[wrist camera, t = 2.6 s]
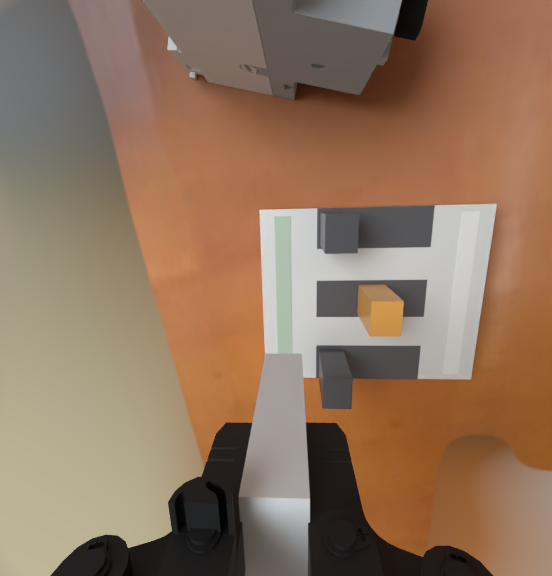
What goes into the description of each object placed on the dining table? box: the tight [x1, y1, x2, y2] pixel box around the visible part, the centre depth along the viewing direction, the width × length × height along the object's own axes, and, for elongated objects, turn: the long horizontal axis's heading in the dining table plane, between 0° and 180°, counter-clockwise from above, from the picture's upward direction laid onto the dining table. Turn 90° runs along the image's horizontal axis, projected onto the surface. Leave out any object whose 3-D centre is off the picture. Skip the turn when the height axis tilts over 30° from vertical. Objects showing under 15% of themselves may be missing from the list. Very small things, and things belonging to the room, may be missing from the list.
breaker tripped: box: [357, 284, 404, 337], centre depth 22 cm, size 2×2×4 cm
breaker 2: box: [319, 350, 353, 409], centre depth 24 cm, size 2×2×4 cm
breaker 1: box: [320, 212, 359, 254], centre depth 21 cm, size 2×2×4 cm
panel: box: [260, 204, 497, 379], centre depth 26 cm, size 17×14×3 cm
